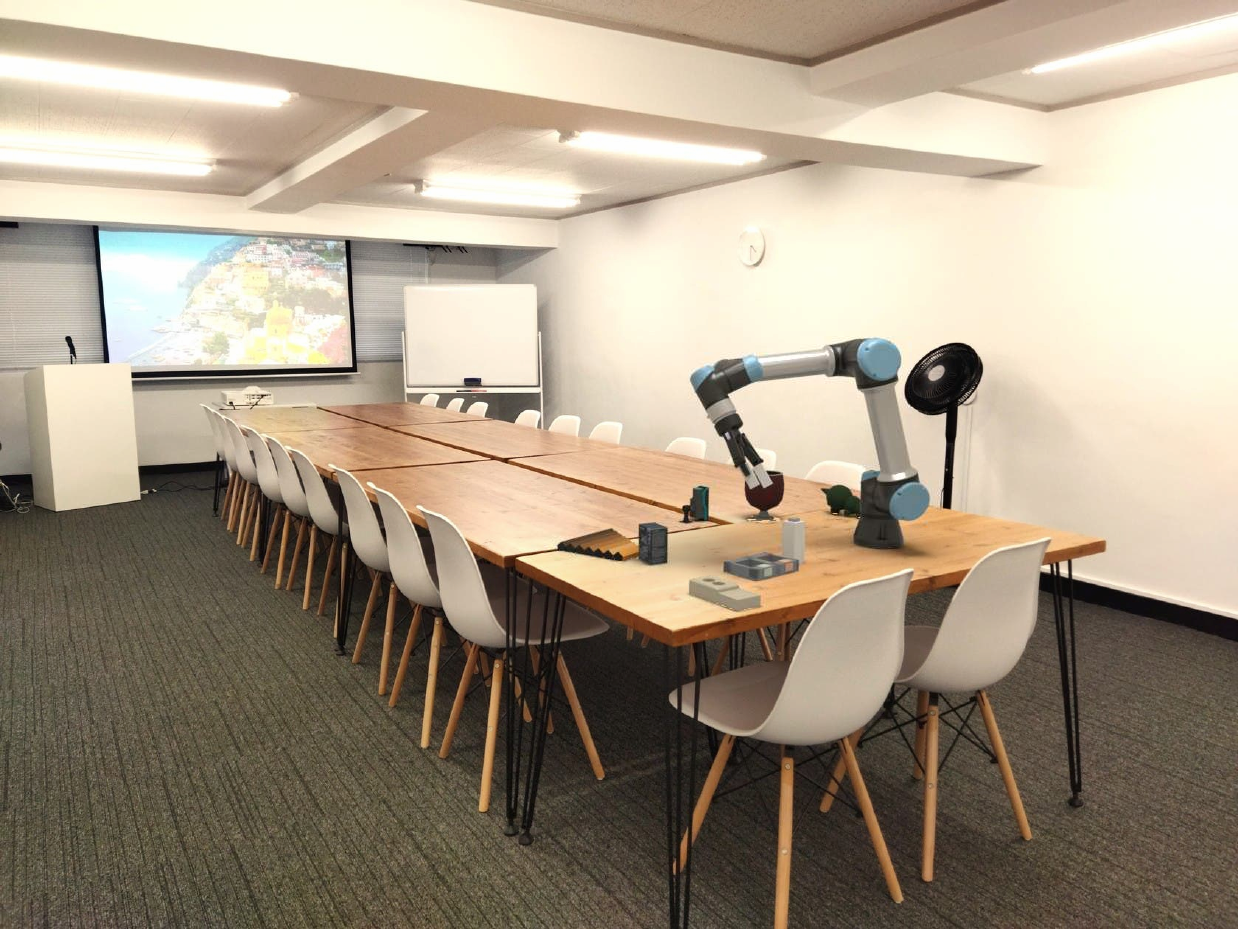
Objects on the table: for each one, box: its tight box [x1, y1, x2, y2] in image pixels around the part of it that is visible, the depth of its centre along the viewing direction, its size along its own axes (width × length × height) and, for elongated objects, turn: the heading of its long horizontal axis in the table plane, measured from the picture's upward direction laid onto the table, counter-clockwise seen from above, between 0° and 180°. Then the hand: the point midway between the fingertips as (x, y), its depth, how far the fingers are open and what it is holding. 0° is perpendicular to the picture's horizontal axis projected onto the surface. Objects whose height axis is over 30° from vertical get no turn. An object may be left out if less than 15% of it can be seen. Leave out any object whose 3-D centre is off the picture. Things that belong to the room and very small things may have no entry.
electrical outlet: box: [688, 575, 762, 612], centre depth 206 cm, size 7×4×18 cm
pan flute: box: [556, 527, 639, 562], centre depth 261 cm, size 25×3×25 cm
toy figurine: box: [820, 469, 875, 518], centre depth 311 cm, size 9×19×25 cm
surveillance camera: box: [678, 485, 710, 525], centre depth 302 cm, size 6×12×10 cm
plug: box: [780, 517, 806, 565], centre depth 242 cm, size 4×4×13 cm
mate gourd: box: [744, 469, 785, 521], centre depth 303 cm, size 16×14×20 cm
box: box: [638, 521, 669, 566], centre depth 244 cm, size 8×6×11 cm
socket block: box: [723, 551, 800, 582], centre depth 233 cm, size 17×12×3 cm
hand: (761, 486), depth 232 cm, fingers open, 13 cm apart
